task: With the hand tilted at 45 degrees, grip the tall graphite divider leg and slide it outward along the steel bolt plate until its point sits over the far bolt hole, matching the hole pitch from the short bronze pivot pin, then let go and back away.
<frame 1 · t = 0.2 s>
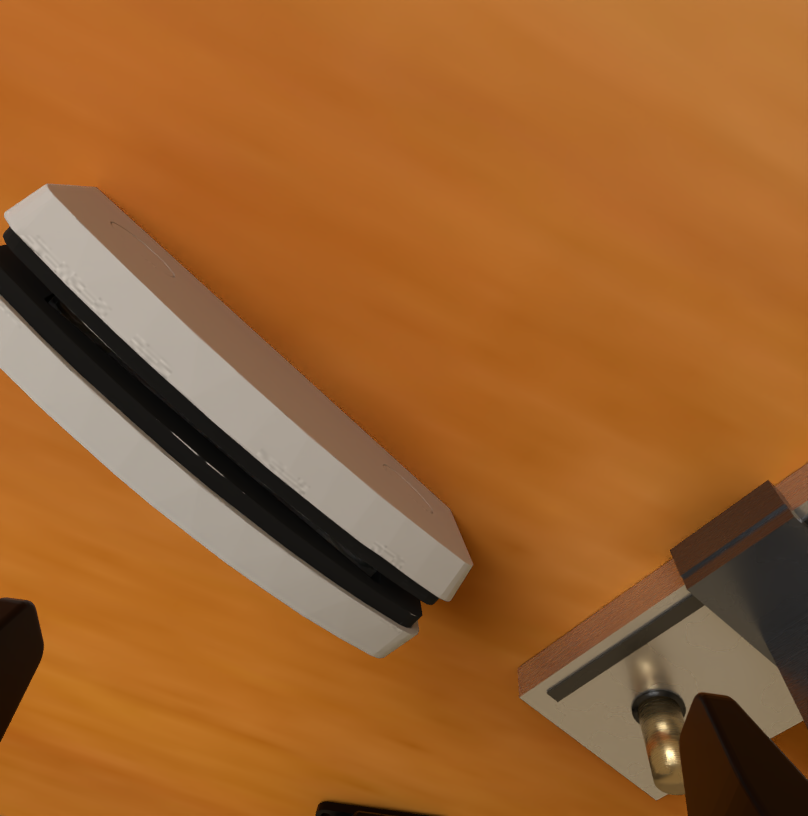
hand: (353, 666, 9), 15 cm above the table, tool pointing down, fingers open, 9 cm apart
bolt plate: (800, 583, 25), on the table
hinge: (269, 378, 25), on the table
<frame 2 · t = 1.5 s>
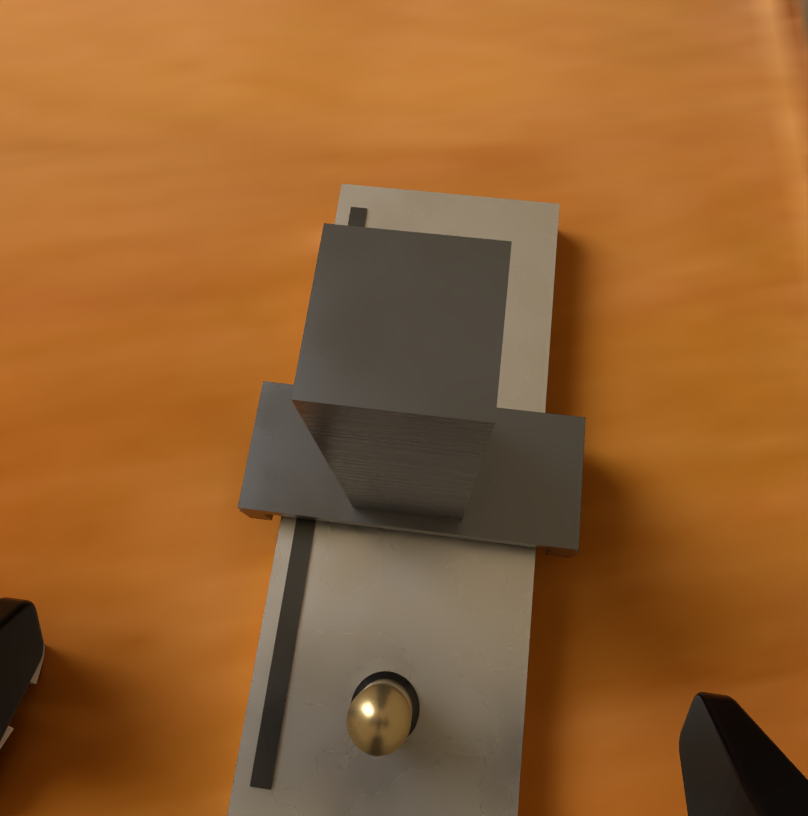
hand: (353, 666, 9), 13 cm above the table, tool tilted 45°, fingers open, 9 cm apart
bolt plate: (415, 482, 24), on the table
divider leg: (411, 423, 17), point 7 cm above the table, slide at 0.0 cm
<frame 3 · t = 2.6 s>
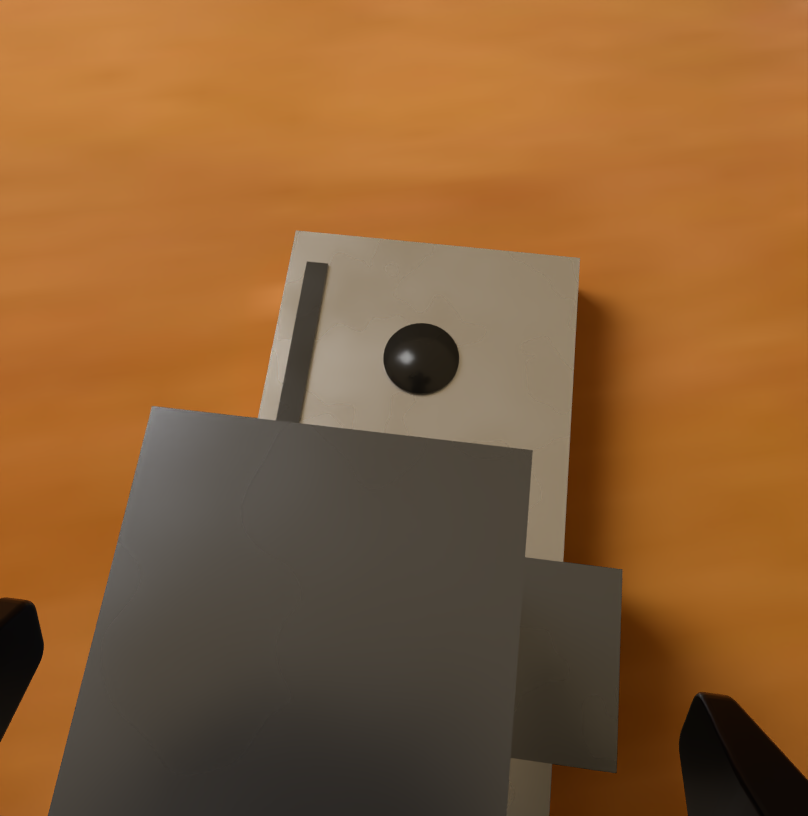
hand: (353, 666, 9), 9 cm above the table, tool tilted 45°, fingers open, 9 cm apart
bolt plate: (388, 635, 18), on the table
divider leg: (367, 633, 11), point 7 cm above the table, slide at 0.0 cm
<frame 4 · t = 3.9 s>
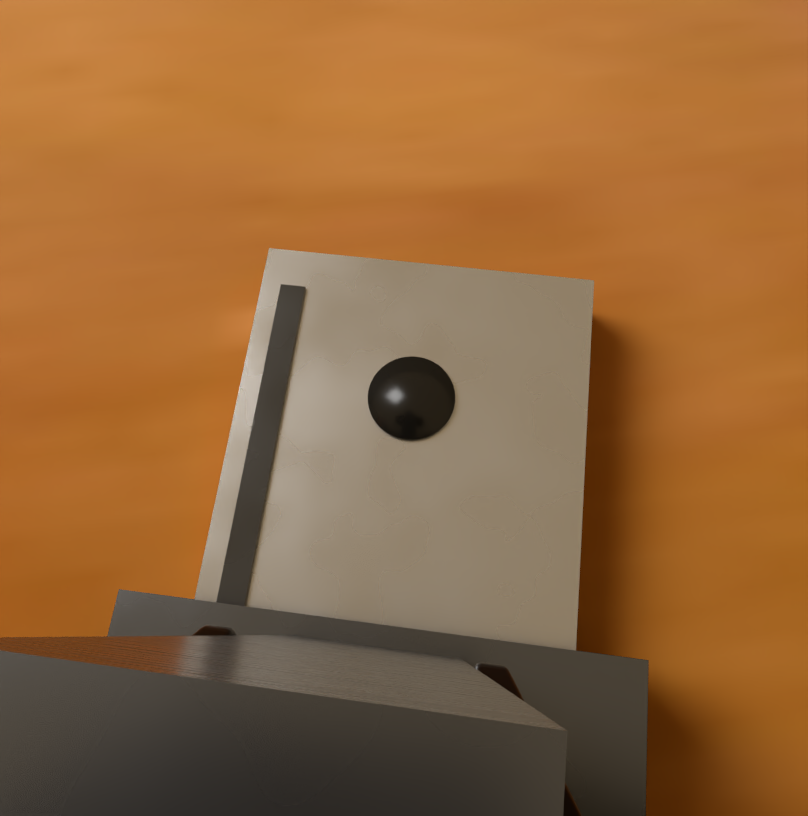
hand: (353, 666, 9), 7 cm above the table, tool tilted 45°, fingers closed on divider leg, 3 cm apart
bolt plate: (373, 720, 15), on the table
divider leg: (333, 788, 9), point 7 cm above the table, slide at 0.0 cm, touching gripper
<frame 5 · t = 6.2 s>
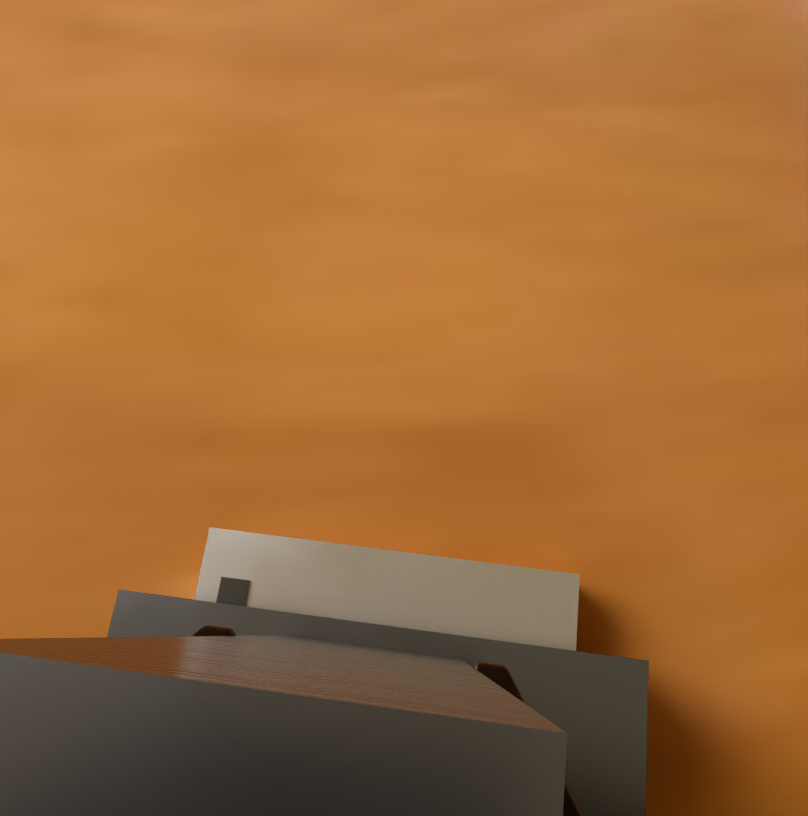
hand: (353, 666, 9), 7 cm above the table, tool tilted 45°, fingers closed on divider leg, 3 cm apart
divider leg: (333, 789, 9), point 7 cm above the table, slide at 7.0 cm, touching gripper
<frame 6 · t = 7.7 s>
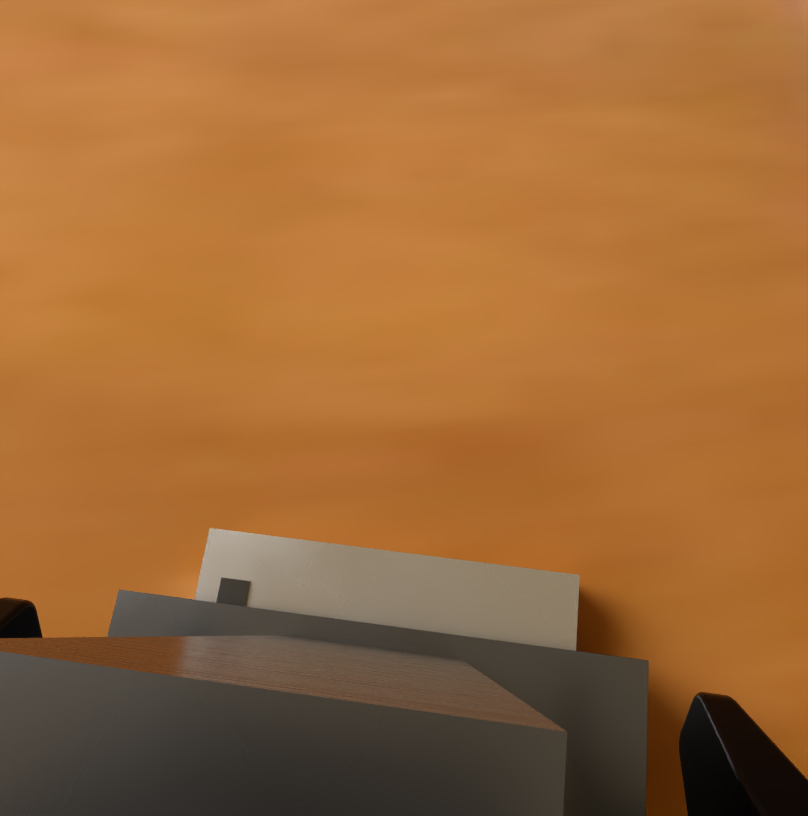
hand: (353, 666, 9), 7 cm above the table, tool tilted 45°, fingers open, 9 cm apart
divider leg: (333, 788, 9), point 7 cm above the table, slide at 7.0 cm
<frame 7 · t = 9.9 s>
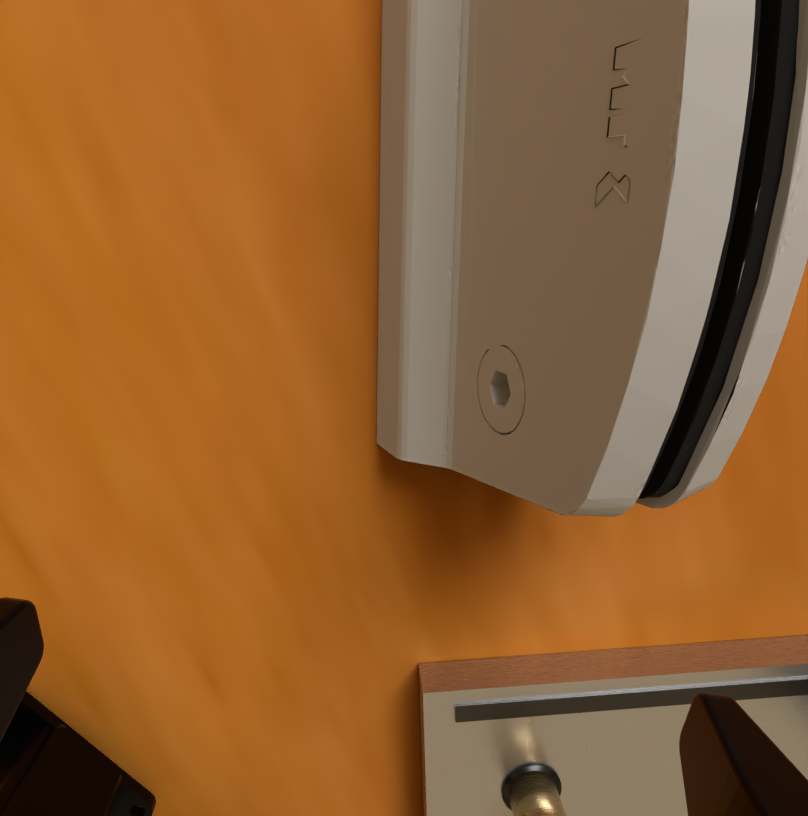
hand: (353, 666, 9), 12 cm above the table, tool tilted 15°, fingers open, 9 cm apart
bolt plate: (713, 739, 25), on the table
hinge: (515, 172, 20), on the table
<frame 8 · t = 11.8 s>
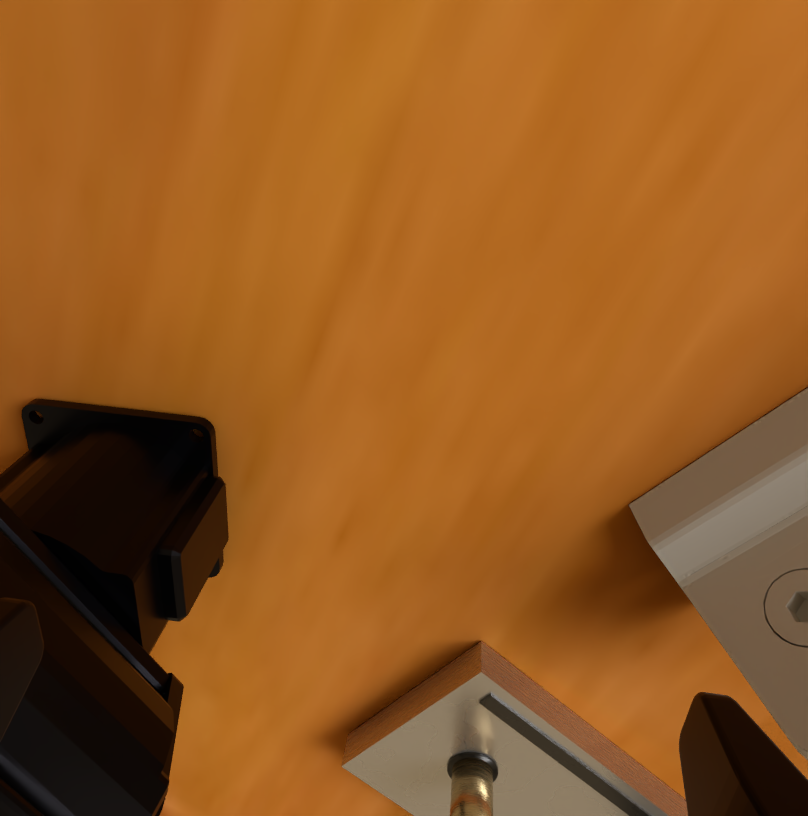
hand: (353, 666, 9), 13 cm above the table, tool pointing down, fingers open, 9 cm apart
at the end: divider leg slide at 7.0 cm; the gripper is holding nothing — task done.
